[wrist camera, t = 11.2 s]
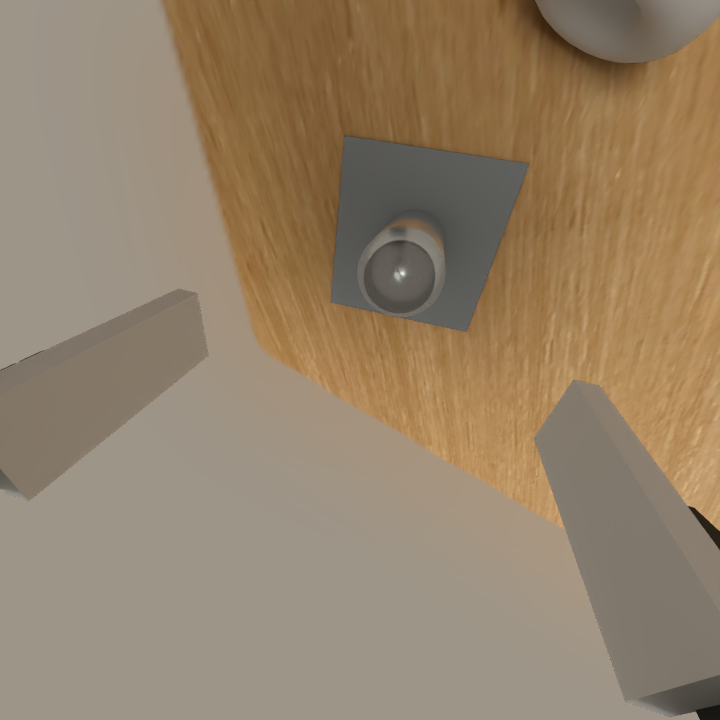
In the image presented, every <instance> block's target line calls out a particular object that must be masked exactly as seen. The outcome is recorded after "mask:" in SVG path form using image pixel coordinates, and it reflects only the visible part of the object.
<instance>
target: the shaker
mask: <svg viewBox="0 0 720 720" xmlns="http://www.w3.org/2000/svg"><path fill="white" fill-rule="evenodd" d="M357 278H358V284H359V287H360V290H361V292H362V294H363V296H364V297H365V299H366V300H367V301H368V303H369V304H370V305H371V306H372V307H374V308H375V309H376V310H378V311H380V312H382V313H384V314H386V315H390V316H394V317H408V316H413V315H416V314H418V313H420V312H422V311H424V310H426V309H427V308H428V307H430V306H431V305H432V304H433V303H434V302H435V301H436V299H437V298H438V296H439V295H440V293H441V291H442V288H443V285H444V281H445V255H444V236H443V231H442V228H441V226H440V224H439V222H438V221H437V220H436V219H435V218H434V217H433V216H432V215H431V214H429V213H427V212H425V211H421V210H409V211H405V212H403V213H401V214H399V215H398V216H396V217H395V218H394V219H393V220H392V221H391V222H390V223H389V224H388V225H387V226H386V227H385V228H384V229H383V230H382V231H381V232H380V233H379V234H378V235H377V236H376V237H375V238H374V239H373V240H372V241H371V242H370V243H369V244H368V245H367V246H366V248H365V249H364V251H363V253H362V255H361V257H360V260H359V263H358V269H357Z"/></svg>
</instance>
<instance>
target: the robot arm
mask: <svg viewBox="0 0 720 720" xmlns="http://www.w3.org/2000/svg"><path fill="white" fill-rule="evenodd" d="M206 357H208V350H207V344H206V338H205V333H204V327H203V322H202V316H201V310H200V305H199V300H198V294H197V293H195V292H191V291H186V290H182V289H177V290H175V291H172V292H170V293H168V294H166V295H164V296H162V297H159V298H157V299H155V300H153V301H151V302H149V303H147V304H144V305H142V306H140V307H138V308H136V309H133V310H131V311H129V312H127V313H125V314H123V315H120V316H118V317H116V318H114V319H112V320H110V321H108V322H105V323H103V324H101V325H99V326H96V327H94V328H92V329H90V330H88V331H86V332H83V333H81V334H79V335H77V336H75V337H73V338H71V339H68V340H66V341H64V342H62V343H60V344H58V345H56V346H53V347H51V348H49V349H47V350H44V351H41V352H39V353H36V354H34V355H32V356H30V357H28V358H25V359H23V360H21V361H20V362H18V363H16V364H12V365H10V366H8V367H6V368H4V369H2V370H1V371H0V491H1V492H2V493H5V494H8V495H12V496H14V497H17V498H21V499H23V500H26V501H29V500H31V499H32V498H33V497H34V496H36V495H37V494H38V493H39V492H41V491H42V490H43V489H44V488H46V487H47V486H48V485H49V484H51V483H52V482H53V481H54V480H55V479H57V478H58V477H59V476H60V475H62V474H63V473H64V472H65V471H67V470H68V469H69V468H70V467H72V466H73V465H74V464H75V463H77V462H78V461H79V460H80V459H81V458H83V457H84V456H85V455H86V454H88V453H89V452H90V451H91V450H93V449H94V448H95V447H96V446H97V445H99V444H100V443H101V442H102V441H104V440H105V439H106V438H107V437H109V436H110V435H111V434H112V433H114V432H115V431H116V430H117V429H118V428H120V427H121V426H122V425H123V424H125V423H126V422H127V421H128V420H130V419H131V418H132V417H133V416H134V415H135V414H137V413H138V412H139V411H141V410H142V409H143V408H144V407H146V406H147V405H148V404H149V403H151V402H152V401H153V400H154V399H156V398H157V397H158V396H159V395H160V394H162V393H163V392H164V391H165V390H167V389H168V388H169V387H170V386H172V385H173V384H174V383H175V382H177V381H178V380H179V379H180V378H181V377H183V376H184V375H185V374H186V373H188V372H189V371H190V370H191V369H193V368H194V367H195V366H196V365H197V364H199V363H200V362H201V361H203V360H204V359H205V358H206ZM534 440H535V443H536V446H537V449H538V451H539V454H540V457H541V460H542V463H543V466H544V469H545V472H546V475H547V478H548V480H549V483H550V486H551V489H552V492H553V495H554V498H555V501H556V504H557V506H558V509H559V512H560V515H561V518H562V521H563V524H564V527H565V530H566V532H567V535H568V538H569V541H570V544H571V547H572V550H573V552H574V555H575V558H576V561H577V564H578V567H579V570H580V573H581V576H582V579H583V581H584V584H585V587H586V590H587V593H588V596H589V599H590V602H591V604H592V608H593V610H594V613H595V616H596V619H597V622H598V625H599V628H600V631H601V633H602V636H603V639H604V642H605V645H606V648H607V651H608V654H609V657H610V660H611V662H612V665H613V668H614V671H615V674H616V677H617V679H618V683H619V685H620V688H621V691H622V694H623V697H624V700H625V702H626V703H629V704H632V705H635V706H639V707H641V708H644V709H647V710H650V711H653V712H656V713H659V714H662V715H665V716H668V717H672V716H677V715H682V714H686V713H691V712H695V711H696V712H697V714H698V717H699V719H700V720H720V531H719V530H718V529H717V528H715V527H714V526H713V525H712V524H711V523H710V522H709V521H708V520H707V519H706V518H705V517H704V516H702V515H701V514H700V513H699V512H698V511H697V510H696V509H695V508H693V507H690V506H687V505H686V503H685V502H684V501H683V499H682V498H681V497H680V495H679V494H678V492H677V491H676V490H675V488H674V487H673V486H672V484H671V483H670V482H669V480H668V479H667V477H666V476H665V475H664V473H663V472H662V471H661V469H660V468H659V466H658V465H657V464H656V462H655V461H654V460H653V458H652V457H651V456H650V454H649V453H648V451H647V450H646V449H645V447H644V446H643V445H642V443H641V442H640V440H639V439H638V438H637V436H636V435H635V434H634V432H633V431H632V430H631V428H630V427H629V425H628V424H627V423H626V421H625V420H624V419H623V417H622V416H621V414H620V413H619V412H618V410H617V409H616V408H615V406H614V405H613V404H612V402H611V401H610V399H609V398H608V397H607V395H606V394H605V393H604V391H603V390H602V388H601V387H600V386H599V385H595V384H591V383H587V382H582V381H578V380H573V381H572V383H571V384H570V386H569V387H568V389H567V390H566V392H565V393H564V395H563V396H562V398H561V399H560V401H559V402H558V403H557V405H556V406H555V408H554V409H553V411H552V412H551V414H550V415H549V417H548V418H547V420H546V421H545V423H544V424H543V426H542V427H541V429H540V430H539V431H538V433H537V434H536V436H535V437H534Z"/></svg>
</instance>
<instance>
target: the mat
mask: <svg viewBox="0 0 720 720" xmlns="http://www.w3.org/2000/svg"><path fill="white" fill-rule="evenodd" d="M528 166H529V164H528V163H521V162H514V161H508V160H501V159H495V158H488V157H481V156H475V155H468V154H462V153H455V152H449V151H442V150H435V149H429V148H422V147H416V146H409V145H402V144H396V143H389V142H383V141H376V140H369V139H363V138H356V137H350V136H344V148H343V161H342V173H341V185H340V197H339V209H338V221H337V233H336V245H335V258H334V270H333V282H332V294H331V302H332V303H337V304H341V305H346V306H350V307H355V308H359V309H364V310H369V311H373V312H378V313H382V312H380V311H378V310H376V309H375V308H374V307H372V306H371V305H370V304H369V303H368V301H367V300H366V299H365V297H364V296H363V294H362V292H361V290H360V287H359V284H358V278H357V269H358V263H359V260H360V257H361V255H362V253H363V251H364V249H365V248H366V246H367V245H368V244H369V243H370V242H371V241H372V240H373V239H374V238H375V237H376V236H377V235H378V234H379V233H380V232H381V231H382V230H383V229H384V228H385V227H386V226H387V225H388V224H389V223H390V222H391V221H392V220H393V219H394V218H395V217H396V216H398V215H399V214H401V213H403V212H405V211H409V210H421V211H425V212H427V213H429V214H431V215H432V216H433V217H434V218H435V219H436V220H437V221H438V222H439V224H440V226H441V228H442V231H443V236H444V255H445V281H444V285H443V288H442V291H441V293H440V295H439V296H438V298H437V299H436V301H435V302H434V303H433V304H432V305H431V306H430V307H428V308H427V309H426V310H424V311H422V312H420V313H418V314H416V315H413V316H408V317H401V318H405V319H410V320H415V321H419V322H424V323H428V324H433V325H437V326H442V327H447V328H451V329H456V330H460V331H465V332H467V329H468V326H469V324H470V321H471V318H472V316H473V313H474V310H475V308H476V305H477V302H478V300H479V297H480V294H481V292H482V289H483V286H484V284H485V281H486V278H487V276H488V273H489V270H490V268H491V265H492V262H493V260H494V257H495V254H496V252H497V249H498V246H499V244H500V241H501V238H502V236H503V233H504V230H505V228H506V225H507V222H508V220H509V217H510V214H511V212H512V209H513V206H514V204H515V201H516V198H517V196H518V193H519V190H520V188H521V185H522V182H523V180H524V177H525V174H526V172H527V169H528ZM382 314H384V313H382Z"/></svg>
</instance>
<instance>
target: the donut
mask: <svg viewBox="0 0 720 720" xmlns="http://www.w3.org/2000/svg"><path fill="white" fill-rule="evenodd" d="M535 2H536V4H537V6H538V8H539V10H540V12H541V14H542V16H543V17H544V19H545V20H546V21H547V22H548V23H549V25H550V26H551V27H552V28H553V29H554V31H555V32H557V33H558V34H559V35H560V36H561V37H563V38H564V39H565V40H566V41H567V42H568V43H570V44H572V45H573V46H575V47H577V48H578V49H580V50H582V51H583V52H585V53H588V54H590V55H593V56H595V57H598V58H600V59H603V60H608V61H613V62H618V63H646V62H649V61H652V60H656V59H659V58H662V57H665V56H667V55H670V54H673V53H675V52H677V51H678V50H680V49H681V48H683V47H684V46H686V45H687V44H689V43H690V42H691V41H692V40H694V39H695V38H696V37H697V36H699V35H700V34H701V33H702V32H704V31H705V30H706V29H707V28H708V27H709V26H710V25H711V24H712V23H713V22H714V21H715V20H716V19H717V18H718V17H719V16H720V0H535Z"/></svg>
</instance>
